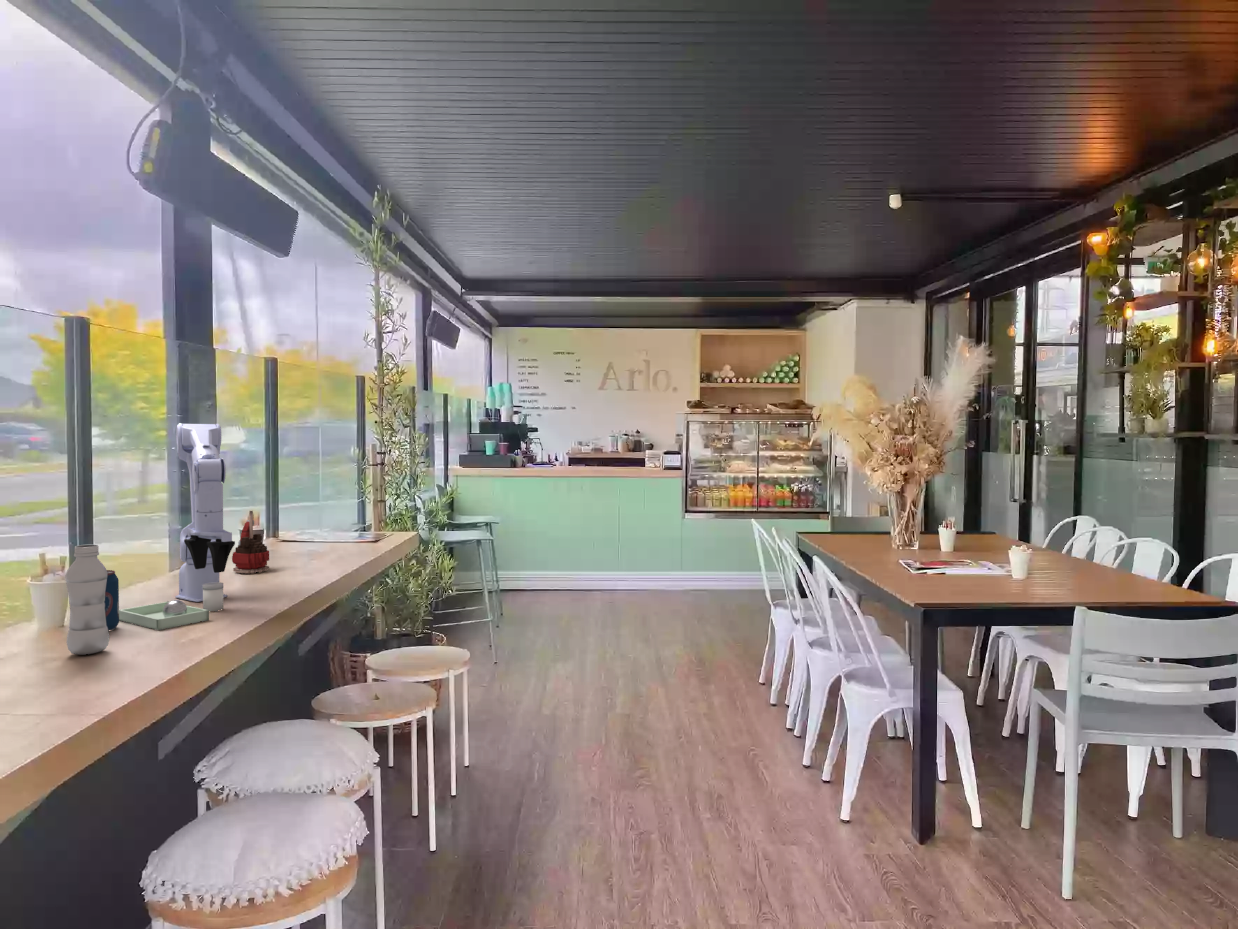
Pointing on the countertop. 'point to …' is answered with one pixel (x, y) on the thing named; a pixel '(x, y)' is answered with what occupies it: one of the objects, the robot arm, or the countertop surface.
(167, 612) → the ball
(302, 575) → the countertop surface
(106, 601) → the soda can
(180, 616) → the tray
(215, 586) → the shaker
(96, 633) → the plastic bottle
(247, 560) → the cake
